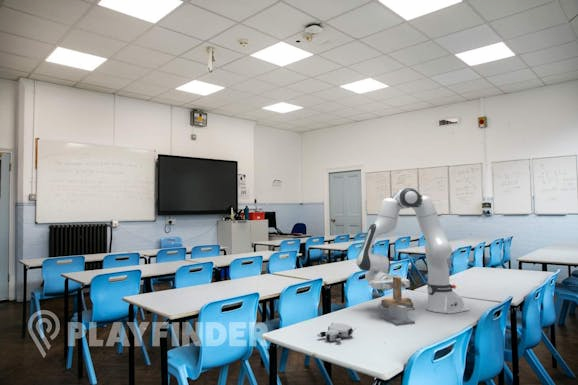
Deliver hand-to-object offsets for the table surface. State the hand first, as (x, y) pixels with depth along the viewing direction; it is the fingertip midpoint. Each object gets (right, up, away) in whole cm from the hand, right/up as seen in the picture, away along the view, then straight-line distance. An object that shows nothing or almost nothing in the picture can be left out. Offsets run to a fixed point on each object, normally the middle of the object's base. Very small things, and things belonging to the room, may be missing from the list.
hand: (398, 286), depth 194 cm
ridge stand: (0, -17, 0) cm, 17 cm away
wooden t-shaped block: (0, -9, 0) cm, 9 cm away
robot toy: (-34, -17, -25) cm, 45 cm away
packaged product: (+6, -19, +26) cm, 33 cm away
